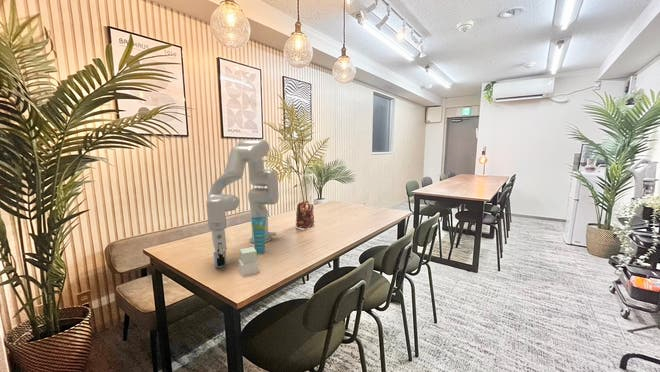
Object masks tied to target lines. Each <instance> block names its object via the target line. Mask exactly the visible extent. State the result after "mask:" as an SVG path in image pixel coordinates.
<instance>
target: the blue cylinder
mask: <svg viewBox="0 0 660 372" xmlns="http://www.w3.org/2000/svg"><path fill="white" fill-rule="evenodd" d="M223 251H224V257H225V265H223V266H217V252H215V251H214V252H213V263H214V264H213V265H214V267H215V268H223V267H225V266H226V265H227V252H226V251H227V250H226V251H225V250H224V249H223ZM218 254H219V252H218Z"/></svg>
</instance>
